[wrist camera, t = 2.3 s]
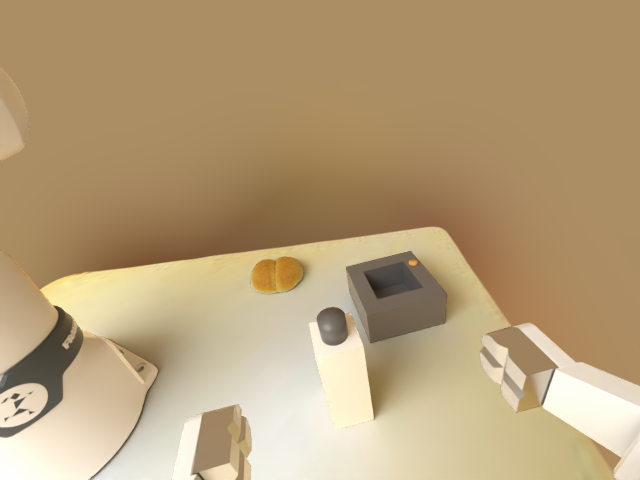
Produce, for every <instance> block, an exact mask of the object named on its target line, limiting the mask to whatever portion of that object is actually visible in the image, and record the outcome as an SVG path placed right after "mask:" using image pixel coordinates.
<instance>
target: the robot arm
mask: <svg viewBox="0 0 640 480" xmlns="http://www.w3.org/2000/svg"><path fill="white" fill-rule="evenodd" d="M28 119H29V118H28V113H27V109H26V105H25V103H24V100H23V98H22V96H21V94H20V92H19V90H18V88H17V87H16V85H15V84H14V82H13V81H12V80H11V78H10V77H9V76H8V74H7V73H6V72H5V71H4V70H3V69H2V68H1V67H0V161H1V160H3V159H5V158H7V157H9V156H11V155H13V154H15V153H17V152H19V151H21V150H22V149H23V148H24V146H25V143H26V140H27V137H28V132H29V120H28ZM482 343H483V345H484V347H483V349H482V350H481V351H480V361H481V364H482V367H483V369H484V371H485V372H486V374H487V375H488V377H489V378H490V379H491V380H492V381H494V382H496V383H497V384H499V385H500V388H501V394H502V395H503V396H504V398H505V399H506V400H507V402H508V403H509V404H510V405H511V407H512V408H513V409H514V411H515V412H516V413H517V412H521V411H525V410H528V409H532V408H536V407H540V406H543V407H542V408H544V409H546V410H547V411H549V412H550V413H552V414H553V415H555V416H557V417H558V418H560V419H561V420H563V421H564V422H566V423H568V424H569V425H571V426H572V427H574V428H575V429H577V430H579V431H580V432H582V433H583V434H585V435H587V436H588V437H590V438H591V439H593V440H594V441H596V442H598V443H599V444H601V445H602V446H604V447H605V448H607V449H609V450H610V451H612V452H613V453H615V454H616V455H618V456H620V457H621V460H620V461H619V463H618V464H617V466H616V468H615V469H614V477H615V478H616V479H617V480H640V386H638V385H636V384H634V383H631V382H629V381H626V380H624V379H622V378H619V377H617V376H614V375H612V374H609V373H607V372H605V371H602V370H600V369H597V368H595V367H593V366H590V365H588V364H585V363H583V362H577V363H576V362H575V361H574V360H573V359H572V358H571V357H569V356H568V355H567V354H566V353H565V352H564V351H563V350H562V349H560V348H559V347H558V346H557V345H556V344H555V343H554V342H553V341H552V340H550V339H549V338H548V337H547V336H546V335H545V334H544V333H543V332H541V331H540V330H539V329H538V328H537V327H536V326H535V325H533V324H531V323H523V324H520V325H516V326H513V327H512V326H511V327H508V328H504V329H501V330H498V331H494V332H491V333H488V334H485V335H484V336H483V337H482ZM157 374H158V369H157V368H156V367H155V366H154V365H153V364H151V363H150V362H148V361H146V360H144V359H142V358H141V357H139V356H137V355H135V354H133V353H131V352H130V351H128V350H126V349H124V348H122V347H121V346H119V345H117V344H115V343H113V342H112V341H110V340H108V339H106V338H104V337H98V336H95V335H93V334H91V333H88V332H86V331H83V330H81V329H80V328H79V327H78V326H77V324H76V321H75V320H74V319H73V318H72V317H71V316H70V315H69V314H67V313H66V312H65V311H64V310H63V309H62V308H60V307H58V306H53V305H52V304H51V303H50V302H49V300H48V299H47V298H46V297H45V296H44V295H43V293H42V292H41V291H40V290H39V289H38V287H37V286H36V285H35V284H34V283H33V282H32V281H31V279H30V278H29V277H28V276H27V275H26V273H25V272H24V271H23V270H22V269H21V268H20V266H19V265H18V264H17V263H16V262H15V261H14V259H13V258H12V257H11V256H9V255H8V254H7V253H5V252H3V251H1V250H0V480H89V479H90V478H91V477H92V476H93V475H95V474H96V473H97V472H98V471H99V470H100V469H101V468H102V467H103V466H104V465H105V464H106V463H107V462H108V461H109V460H110V459H111V458H112V457H113V456H114V454H115V453H116V452H117V451H118V450H119V449H120V447H121V446H122V445H123V443H124V442H125V441H126V439H127V438H128V436H129V435H130V433H131V432H132V430H133V428H134V426H135V424H136V422H137V420H138V418H139V416H140V413H141V410H142V407H143V403H144V399H145V396H146V393H147V391H148V389H149V388H150V386H151V385H152V383H153V381H154V380H155V378H156V376H157ZM241 413H242V409H241V408H240V406H239V405H238V404H236V405H232V406H228V407H224V408H221V409H217V410H213V411H209V412H205V413H201V414H198V415H194V416H191V417H188V418H187V420H186V422H185V424H184V428H183V432H182V437H181V441H180V446H179V450H178V455H177V459H176V464H175V468H174V473H173V478H172V480H251V465H250V464H249V462H248V460H247V457H248V455H249V453H250V451H251V448H252V439H251V430H250V426H249V423H248V420H247V419H246V417H243V416H241Z"/></svg>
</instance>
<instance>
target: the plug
mask: <svg viewBox="0 0 640 480" xmlns="http://www.w3.org/2000/svg"><path fill="white" fill-rule="evenodd" d="M309 327H310V333H311V338H312V343H313V348H314V353H315V359H316V362H317V366H318V370H319V373H320V377H321V380H322V384H323V388H324V391H325V395H326V398H327V402H328V406H329V409H330V413H331V417H332V420H333V424H334V427H335V430H339V429H343V428H346V427H350V426H353V425H357V424H360V423H364V422H367V421H371V420H374V415H373V408H372V401H371V395H370V388H369V381H368V374H367V367H366V360H365V353H364V346H363V344H362V341H361V338H360V336H359V333H358V331H357V328H356V325H355V323H354V320H353V317H352V315H351V313H347V314H345V313H344V312H343V311H342V310H341V309H339V308H335V307H331V308H326V309H324V310H322V311H321V312H320V313H319V314H318V316H317V321H316V322H312V323H309Z"/></svg>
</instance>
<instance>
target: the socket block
mask: <svg viewBox="0 0 640 480" xmlns="http://www.w3.org/2000/svg"><path fill="white" fill-rule="evenodd" d="M346 271H347V278H348V284H349V290H350V294H351V297H352V299H353V302H354V304H355V307H356V309H357V311H358V314H359V316H360V319H361V321H362V324H363V326H364V329H365V331H366V334H367V336H368V339H369V341H370V343H372V342H376V341H380V340H384V339H387V338H391V337H395V336H399V335H402V334H406V333H410V332H414V331H417V330H421V329H425V328H429V327H432V326H436V325H440V324H444V323H445V317H446V301H447V293H446V292H445V291H444V290H443V289H442V287H441V286H440V285H439V284H438V283H437V281H436V280H435V279H434V278H433V277H432V276H431V274H430V273H429V272H428V271H427V270H426V268H425V267H424V266H423V265H422V264H421V262H420V261H419V260H418V259H417V258H416V257H415V255H414V254H413V253H412V252H411V251H408V252H404V253H400V254H396V255H392V256H388V257H384V258H380V259H376V260H372V261H368V262H364V263H360V264H356V265H352V266H348V267H346Z"/></svg>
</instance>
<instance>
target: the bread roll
mask: <svg viewBox="0 0 640 480" xmlns="http://www.w3.org/2000/svg"><path fill="white" fill-rule="evenodd" d="M302 278H303V269H302V266H301V264H300V263H299V262H298V261H297V260H296V259H294V258H291V257H281V258H278V259H277V260H276V261H274V260H262V261H261V262H259V263H258V264H256V266H255V267H254V270H253V271H252V275H251V280H250V284H251V287H252V289H253V290H255V291H257V292H260V293H262V294H273V293H277V292H287V291H290V290H292V289H293V288H294V287H295V286H296V285H297V284H298V283H299V281H300V280H301V279H302Z"/></svg>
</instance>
